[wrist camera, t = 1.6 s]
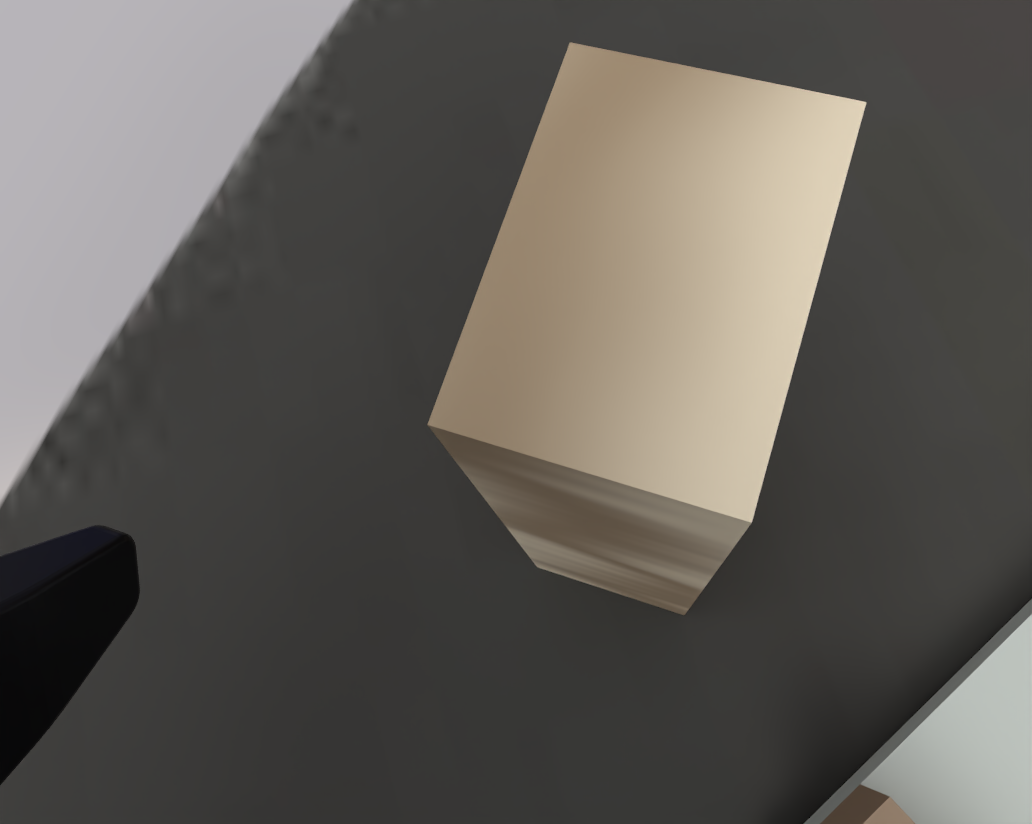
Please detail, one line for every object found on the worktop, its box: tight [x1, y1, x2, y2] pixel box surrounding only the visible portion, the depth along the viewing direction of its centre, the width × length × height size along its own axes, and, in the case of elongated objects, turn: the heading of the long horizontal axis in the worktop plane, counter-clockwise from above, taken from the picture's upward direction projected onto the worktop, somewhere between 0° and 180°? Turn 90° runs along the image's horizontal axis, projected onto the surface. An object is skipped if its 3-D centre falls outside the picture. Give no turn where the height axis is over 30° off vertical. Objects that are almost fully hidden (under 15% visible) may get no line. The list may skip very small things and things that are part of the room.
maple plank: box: [428, 43, 866, 615], centre depth 16 cm, size 4×5×12 cm
